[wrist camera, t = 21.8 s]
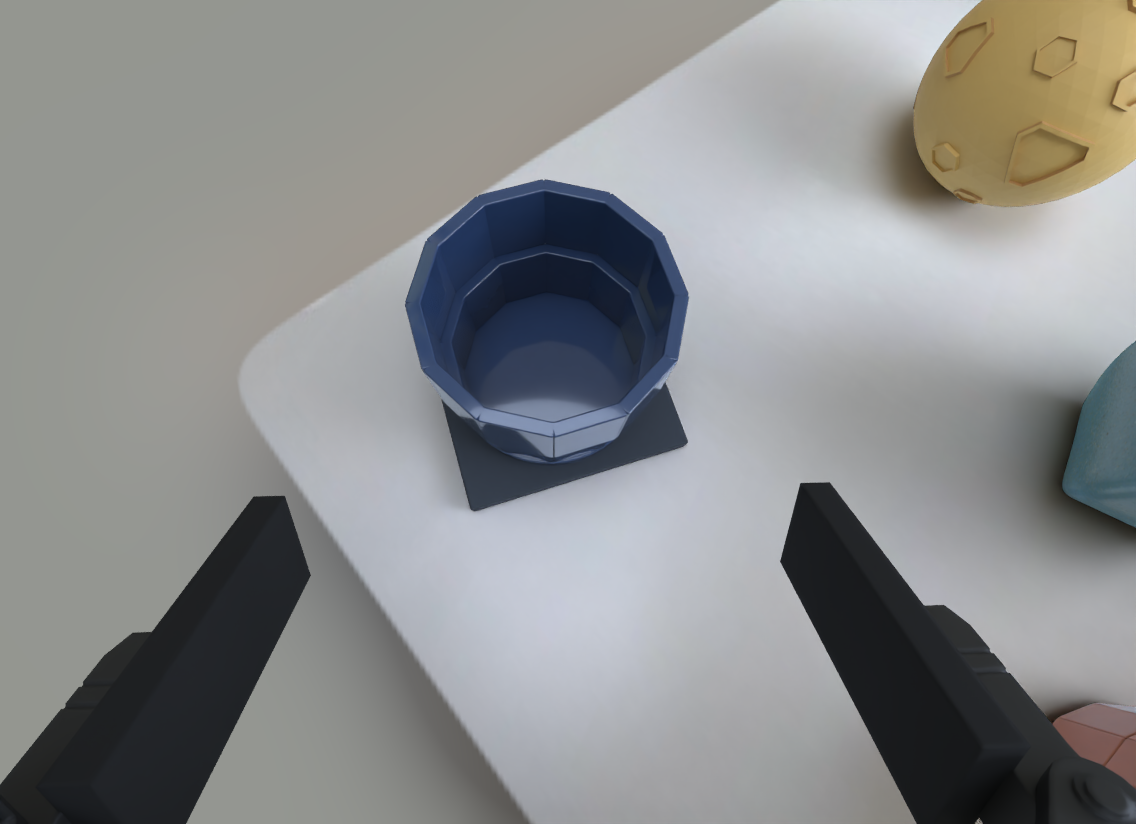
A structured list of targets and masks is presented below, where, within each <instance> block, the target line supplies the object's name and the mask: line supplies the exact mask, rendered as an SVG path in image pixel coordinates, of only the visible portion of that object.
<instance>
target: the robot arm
mask: <svg viewBox="0 0 1136 824" xmlns="http://www.w3.org/2000/svg"><path fill="white" fill-rule="evenodd" d="M780 562H781V564H782V566H783V568H784V570H785V572H786V574H787V576H788V578H789V579H790V581H791V583H792V585H793V587H794V589H795V591H796V593H797V595H798V597H799V599H800V601H801V602H802V604H803V606H804V608H805V610H806V612H807V614H808V616H809V618H810V620H811V622H812V624H813V625H814V627H815V629H816V631H817V633H818V635H819V637H820V639H821V641H822V643H823V645H824V647H825V649H826V650H827V652H828V654H829V656H830V658H831V660H832V662H833V664H834V666H835V668H836V670H837V672H838V673H839V675H840V677H841V679H842V681H843V683H844V685H845V687H846V689H847V691H848V693H849V695H850V696H851V698H852V700H853V702H854V704H855V706H856V708H857V710H858V712H859V714H860V716H861V718H862V719H863V721H864V723H865V725H866V727H867V729H868V731H869V733H870V735H871V737H872V739H873V741H874V743H875V744H876V746H877V748H878V750H879V752H880V754H881V756H882V758H883V760H884V762H885V764H886V766H887V767H888V769H889V771H890V773H891V775H892V777H893V779H894V781H895V783H896V785H897V787H898V789H899V790H900V792H901V794H902V796H903V798H904V800H905V802H906V804H907V806H908V808H909V810H910V812H911V814H912V815H913V817H914V819H915V821H916V823H917V824H975V822H976V821H977V819H978V818H980V820H981V821H982V823H983V824H1136V789H1135V788H1134V787H1133V786H1132V785H1131V784H1129V783H1128V782H1127V781H1126V780H1125V779H1124V778H1123V777H1121V776H1119V775H1118V774H1116V773H1114V772H1113V771H1111V770H1110V769H1108V768H1106V767H1105V766H1103V765H1101V764H1099V763H1096V762H1093V761H1091V760H1088V759H1085V758H1083V757H1080V756H1079V755H1078V754H1077V753H1076V752H1075V751H1074V750H1073V748H1072V747H1071V746H1070V745H1069V744H1068V743H1067V742H1066V740H1065V739H1064V738H1063V737H1062V736H1061V734H1060V733H1059V732H1058V731H1057V729H1056V728H1055V727H1054V726H1053V725H1052V723H1051V722H1050V721H1049V720H1048V719H1047V717H1046V716H1045V715H1044V714H1043V713H1042V711H1041V710H1040V709H1039V708H1038V706H1037V705H1036V704H1035V703H1034V702H1033V700H1032V699H1031V698H1030V697H1029V696H1028V694H1027V693H1026V692H1025V691H1024V690H1023V688H1022V687H1021V686H1020V685H1019V683H1018V682H1017V681H1016V680H1015V679H1014V677H1013V676H1012V675H1011V674H1010V673H1007V672H1006V668H1005V667H1004V665H1003V664H1002V663H1001V662H1000V660H999V659H998V658H997V657H996V656H995V654H994V653H991V652H990V648H989V647H988V646H987V645H986V643H985V642H984V641H983V640H982V639H981V637H980V636H979V635H978V634H977V633H976V631H975V630H974V629H973V628H972V627H971V625H970V624H968V623H967V622H966V621H964V620H963V619H962V618H960V617H959V616H958V615H956V614H955V613H954V612H952V611H951V610H950V609H948V608H947V607H946V606H945V605H933V606H924V605H923V604H922V602H921V601H920V600H919V599H918V597H917V596H916V595H915V593H914V592H913V591H912V589H911V588H910V587H909V585H908V584H907V583H906V582H905V580H904V579H903V578H902V576H901V575H900V574H899V572H898V571H897V570H896V568H895V567H894V566H893V565H892V563H891V562H890V561H889V559H888V558H887V557H886V555H885V554H884V553H883V551H882V550H881V549H880V548H879V546H878V545H877V544H876V542H875V541H874V540H873V538H872V537H871V536H870V534H869V533H868V532H867V531H866V529H865V528H864V527H863V525H862V524H861V523H860V521H859V520H858V519H857V517H856V516H855V515H854V514H853V512H852V511H851V510H850V508H849V507H848V506H847V504H846V503H845V502H844V500H843V499H842V498H841V497H840V495H839V494H838V493H837V491H836V490H835V489H834V487H833V486H832V485H831V483H830V482H827V483H800V487H799V491H798V495H797V499H796V503H795V507H794V510H793V514H792V518H791V522H790V526H789V530H788V534H787V537H786V541H785V545H784V549H783V553H782V557H781V561H780ZM310 576H311V575H310V572H309V569H308V566H307V563H306V560H305V557H304V553H303V550H302V547H301V544H300V541H299V538H298V535H297V532H296V529H295V526H294V523H293V520H292V517H291V513H290V511H289V507H288V504H287V502H286V498H285V496H262V497H253V498H252V500H251V501H250V502H249V504H248V505H247V506H246V508H245V509H244V510H243V512H242V513H241V514H240V516H239V517H238V518H237V520H236V521H235V522H234V524H233V525H232V526H231V528H230V529H229V530H228V532H227V533H226V534H225V535H224V537H223V538H222V539H221V541H220V542H219V544H218V545H217V546H216V547H215V549H214V550H213V552H212V553H211V554H210V555H209V557H208V558H207V559H206V561H205V562H204V564H203V565H202V566H201V567H200V569H199V570H198V571H197V573H196V574H195V576H194V577H193V578H192V579H191V581H190V582H189V583H188V585H187V586H186V587H185V589H184V590H183V591H182V593H181V594H180V595H179V597H178V598H177V599H176V601H175V602H174V603H173V605H172V606H171V607H170V609H169V610H168V611H167V613H166V614H165V615H164V617H163V618H162V619H161V621H160V622H159V623H158V625H157V626H156V627H155V629H154V630H153V631H152V632H143V633H142V632H141V633H132V634H131V635H129V636H128V637H127V638H126V639H124V640H123V641H122V642H121V643H119V644H118V645H117V646H116V647H114V648H113V649H112V650H111V651H109V652H108V653H107V654H106V655H104V657H103V658H102V659H101V660H100V662H99V663H98V664H97V665H96V667H95V668H94V669H93V671H92V672H91V673H90V674H89V675H88V676H87V678H86V679H85V680H84V681H83V686H82V687H79V688H78V689H77V690H76V691H75V693H74V694H73V695H72V696H71V698H70V699H69V700H68V701H67V703H66V707H65V708H64V709H61V710H60V711H59V712H58V714H57V715H56V716H55V717H54V719H53V720H52V721H51V722H50V724H49V725H48V726H47V727H46V728H45V730H44V731H43V732H42V733H41V735H40V736H39V737H38V738H37V740H36V741H35V742H34V743H33V745H32V746H31V747H30V748H29V750H28V751H27V752H26V753H25V754H24V756H23V757H22V758H21V760H20V761H19V762H18V763H17V764H16V766H15V767H14V768H13V769H12V771H11V772H10V773H9V774H8V776H7V777H6V778H5V779H4V781H3V782H2V783H1V784H0V824H186V823H187V821H188V819H189V817H190V815H191V813H192V811H193V809H194V807H195V805H196V803H197V801H198V799H199V797H200V795H201V793H202V790H203V789H204V787H205V785H206V783H207V781H208V779H209V777H210V775H211V773H212V771H213V769H214V767H215V765H216V763H217V761H218V759H219V757H220V755H221V753H222V751H223V749H224V747H225V745H226V743H227V741H228V739H229V737H230V735H231V733H232V731H233V729H234V727H235V725H236V723H237V721H238V719H239V717H240V715H241V713H242V711H243V709H244V707H245V705H246V703H247V701H248V699H249V697H250V695H251V693H252V691H253V689H254V687H255V685H256V683H257V681H258V679H259V677H260V675H261V673H262V671H263V669H264V667H265V665H266V663H267V661H268V659H269V657H270V655H271V653H272V651H273V649H274V647H275V645H276V644H277V641H278V639H279V638H280V635H281V633H282V631H283V630H284V628H285V626H286V624H287V621H288V620H289V618H290V616H291V614H292V612H293V609H294V608H295V606H296V604H297V602H298V600H299V598H300V596H301V594H302V592H303V590H304V588H305V586H306V584H307V582H308V580H309V578H310Z"/></svg>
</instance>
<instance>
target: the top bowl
mask: <svg viewBox="0 0 1136 824" xmlns="http://www.w3.org/2000/svg"><path fill="white" fill-rule="evenodd" d="M688 300H689V296H688V291H687V289H686V287H685V284H684V282H683V279H682V277H681V274H680V272H679V270H678V267H677V265H676V262H675V260H674V258H673V255H672V253H671V250H670V248H669V245H668V243H667V241H666V238H665V236H664V235H663V233H662V232H660V231H659V230H658V229H657V228H655V227H654V226H653V225H652V224H650V223H649V222H648V221H646V220H645V219H644V218H643V217H641V216H640V215H639V214H637V213H636V212H635V211H634V210H632V209H631V208H630V207H629V206H627V205H626V204H625V203H623V202H622V201H621V200H620V199H618V198H617V197H616V196H614V195H613V194H610V193H609V192H605V191H600V190H595V189H590V188H585V187H580V186H575V185H571V184H566V183H561V182H556V181H551V180H546V179H545V180H544V181H543V180H538V181H534V182H530V183H526V184H522V185H518V186H514V187H510V188H506V189H502V190H498V191H494V192H490V193H485V194H481V195H479V196H478V197H475V198H474V199H473V200H471V201H470V202H469V203H468V204H467V205H466V206H465V207H463V208H462V209H461V210H460V211H459V212H458V213H456V214H455V215H454V216H453V217H452V218H451V219H450V220H448V221H447V222H446V223H445V224H444V225H443V226H442V227H440V228H439V229H438V230H437V231H436V232H435V233H433V234H432V235H431V236H430V237H429V238H428V239H427V241H426V242H425V245H424V248H423V251H422V254H421V257H420V260H419V263H418V266H417V269H416V272H415V275H414V277H413V280H412V283H411V286H410V289H409V292H408V295H407V298H406V301H405V303H406V304H405V307H406V311H407V315H408V319H409V323H410V327H411V330H412V334H413V338H414V342H415V346H416V350H417V354H418V357H419V361H420V365H421V369H422V370H423V372H424V374H425V375H426V376H427V378H428V379H429V381H430V382H431V384H432V385H433V387H434V388H435V390H436V391H437V393H438V394H439V396H440V397H441V399H442V400H443V401H444V402H445V403H446V404H447V405H448V406H449V407H450V408H451V409H452V410H453V411H454V412H455V413H456V414H457V415H459V416H460V417H461V418H462V419H463V420H464V421H465V422H466V423H467V424H468V425H469V426H470V427H471V428H473V429H474V431H475V432H476V433H477V434H478V435H479V436H480V437H481V438H482V439H483V440H484V441H485V442H486V443H487V444H489V445H490V446H491V447H492V448H494V449H495V450H497V451H499V452H500V453H502V454H504V455H506V456H508V457H510V458H513V459H515V460H518V461H522V462H525V463H529V464H535V465H550V466H554V465H564V464H569V463H573V462H578V461H581V460H583V459H586V458H589V457H591V456H593V455H595V454H597V453H598V452H600V451H602V450H603V449H605V448H606V447H607V446H609V445H610V444H612V443H613V442H614V441H615V440H616V439H617V438H618V437H619V436H620V435H621V434H622V433H623V431H624V430H625V429H626V428H627V427H628V426H629V425H630V424H631V423H632V422H633V420H634V419H635V418H636V417H637V416H638V415H639V414H640V413H641V412H642V411H643V410H644V408H645V407H646V406H647V405H648V404H649V403H650V402H651V401H652V400H653V399H654V397H655V396H656V395H657V394H658V393H659V391H660V389H661V388H662V386H663V384H664V383H665V381H666V380H667V378H668V376H669V375H670V373H671V371H672V370H673V368H674V367H675V365H676V363H677V361H678V357H679V351H680V346H681V340H682V334H683V329H684V323H685V317H686V312H687V306H688Z"/></svg>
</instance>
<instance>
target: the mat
mask: <svg viewBox="0 0 1136 824" xmlns="http://www.w3.org/2000/svg"><path fill="white" fill-rule="evenodd" d="M442 403H443V407H444V411H445V414H446V418H447V422H448V426H449V429H450V433H451V437H452V441H453V445H454V448H455V452H456V456H457V460H458V464H459V467H460V471H461V475H462V479H463V482H464V486H465V490H466V494H467V498H468V501H469V505H470V509H471V510H473V511H477V510H481V509H484V508H487V507H490V506H493V505H497V504H500V503H503V502H506V501H509V500H513V499H516V498H519V497H522V496H526V495H529V494H532V493H535V492H538V491H542V490H545V489H548V488H551V487H555V486H558V485H561V484H564V483H567V482H571V481H574V480H577V479H580V478H584V477H587V476H590V475H593V474H596V473H600V472H603V471H606V470H609V469H612V468H616V467H619V466H622V465H625V464H629V463H632V462H635V461H638V460H641V459H645V458H648V457H651V456H654V455H658V454H661V453H664V452H667V451H670V450H674V449H677V448H680V447H683V446H684V445H686V444H687V443H688V440H687V438H686V435H685V433H684V430H683V427H682V425H681V422H680V419H679V417H678V414H677V412H676V409H675V406H674V404H673V401H672V398H671V396H670V393H669V391H668V388H667V385H666V383H664V384H663V386H662V388H661V389H660V391H659V393H658V394H657V395H656V396H655V397H654V399H653V400H652V401H651V402H650V403H649V404H648V405H647V406H646V407H645V408H644V410H643V411H642V412H641V413H640V414H639V415H638V416H637V417H636V418H635V419H634V420H633V422H632V423H631V424H630V425H629V426H628V427H627V428H626V429H625V430H624V431H623V433H622V434H621V435H620V436H619V437H618V438H617V439H616V440H615V441H614V442H613V443H612V444H610V445H609V446H607V447H606V448H605V449H603V450H602V451H600V452H598V453H597V454H595V455H593V456H591V457H589V458H586V459H583V460H581V461H578V462H573V463H569V464H564V465H554V466H550V465H535V464H529V463H525V462H522V461H518V460H515V459H513V458H510V457H508V456H506V455H504V454H502V453H500V452H499V451H497V450H495V449H494V448H492V447H491V446H490V445H489V444H487V443H486V442H485V441H484V440H483V439H482V438H481V437H480V436H479V435H478V434H477V433H476V432H475V431H474V429H473V428H471V427H470V426H469V425H468V424H467V423H466V422H465V421H464V420H463V419H462V418H461V417H460V416H459V415H457V414H456V413H455V412H454V411H453V410H452V409H451V408H450V407H449V406H448V405H447V404H446V403H445V402H444V401H443V400H442Z"/></svg>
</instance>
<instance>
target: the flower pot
mask: <svg viewBox="0 0 1136 824" xmlns="http://www.w3.org/2000/svg"><path fill="white" fill-rule="evenodd" d="M1062 487H1063V491H1064V492H1065V493H1066V494H1067V495H1068V496H1070V497H1071V498H1073V499H1075V500H1077V501H1079V502H1082V503H1084V504H1086V505H1088V506H1090V507H1092V508H1094V509H1096V510H1099V511H1101V512H1103V513H1105V514H1107V515H1109V516H1112V517H1114V518H1116V519H1118V520H1120V521H1122V522H1125V523H1127V524H1129V525H1131V526H1133V527H1135V528H1136V341H1135V342H1134V343H1133V344H1131V345H1130V346H1129V347H1128V348H1127V349H1126V350H1124V351H1123V352H1122V353H1121V354H1120V355H1119V356H1118V357H1117V358H1116V359H1115V360H1114V361H1113V362H1112V363H1111V364H1110V366H1109V367H1108V368H1107V369H1106V370H1105V372H1104V373H1103V374H1102V375H1101V377H1100V378H1099V379H1098V381H1097V383H1096V384H1095V386H1094V387H1093V389H1092V390H1091V392H1090V394H1089V395H1088V397H1087V398H1086V400H1085V402H1084V403H1083V406H1082V409H1081V413H1080V417H1079V421H1078V425H1077V429H1076V433H1075V438H1074V442H1073V445H1072V449H1071V452H1070V456H1069V459H1068V463H1067V467H1066V470H1065V473H1064V477H1063V482H1062Z"/></svg>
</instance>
